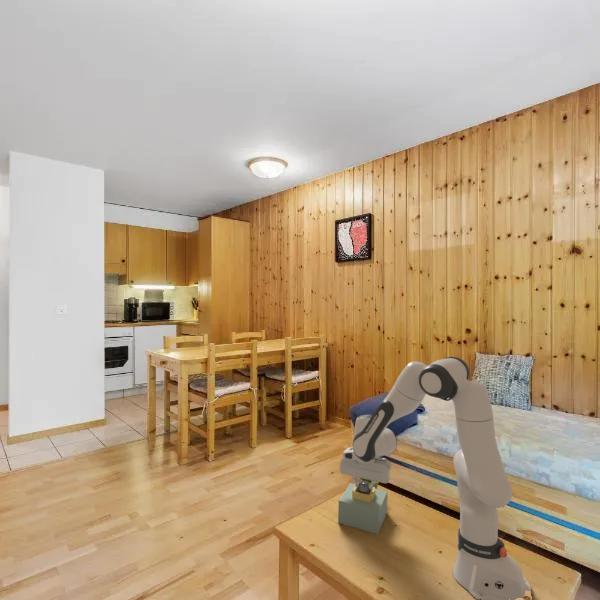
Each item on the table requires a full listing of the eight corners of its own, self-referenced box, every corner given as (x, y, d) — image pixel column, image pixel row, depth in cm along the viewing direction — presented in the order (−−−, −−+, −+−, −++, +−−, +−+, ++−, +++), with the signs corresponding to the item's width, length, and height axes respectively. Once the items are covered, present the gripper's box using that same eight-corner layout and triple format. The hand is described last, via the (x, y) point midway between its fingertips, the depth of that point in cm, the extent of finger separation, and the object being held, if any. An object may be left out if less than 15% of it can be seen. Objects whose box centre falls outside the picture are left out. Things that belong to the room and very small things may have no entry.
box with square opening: (386, 512, 162) (387, 485, 162) (378, 534, 147) (379, 504, 147) (349, 503, 168) (350, 477, 168) (338, 522, 154) (338, 494, 154)
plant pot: (374, 505, 168) (375, 485, 167) (354, 498, 173) (355, 479, 173) (382, 496, 175) (383, 476, 175) (363, 489, 181) (363, 471, 180)
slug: (369, 496, 158) (370, 482, 158) (367, 501, 155) (367, 486, 155) (360, 494, 160) (360, 480, 160) (357, 499, 156) (358, 484, 156)
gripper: (392, 456, 156) (391, 490, 156) (343, 447, 164) (342, 479, 164) (389, 462, 150) (388, 498, 150) (338, 452, 159) (338, 486, 159)
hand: (364, 488), depth 157 cm, fingers closed on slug, 4 cm apart
